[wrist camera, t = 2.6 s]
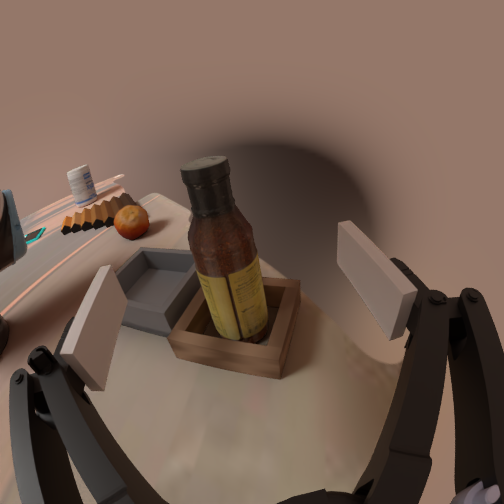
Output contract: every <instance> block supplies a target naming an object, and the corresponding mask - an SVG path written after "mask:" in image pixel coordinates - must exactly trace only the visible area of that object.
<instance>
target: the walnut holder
mask: <svg viewBox="0 0 504 504" xmlns="http://www.w3.org/2000/svg"><path fill="white" fill-rule="evenodd" d="M262 282H263V287H264V293H265V299H266V304H267V306H271V307H279V310H278V313H277V316H276V320H275V323H274V326H273V329H272V332H271V335H270V338H269V341H268V344H267V346H265V345H258V344H252V343H245V342H239V341H233V340H228V339H222V338H217V337H211V336H206V335H202V334H203V333H204V331H205V329H206V327H207V325H208V324H209V322H210V320H211V318H212V316H211V313H210V310H209V307H208V304H207V301H206V298H205V295H204V292H203V289H202V286H201V287H200V289H199V290H198V292H197V293H196V295H195V296H194V298H193V299H192V301H191V302H190V304H189V305H188V307H187V308H186V310H185V311H184V313H183V314H182V316H181V317H180V319H179V320H178V322H177V323H176V325H175V327H174V328H173V330H172V331H171V333H170V334H169V336H168V337H167V339H168V341H169V343H170V345H171V347H172V349H173V351H174V353H175V355H176V357H177V358H180V359H183V360H187V361H191V362H195V363H199V364H203V365H207V366H211V367H216V368H220V369H225V370H230V371H234V372H239V373H245V374H250V375H255V376H261V377H267V378H273V379H281V375H282V371H283V368H284V364H285V361H286V357H287V353H288V349H289V346H290V342H291V338H292V334H293V330H294V326H295V322H296V318H297V314H298V310H299V305H300V280H292V279H279V278H267V277H262Z"/></svg>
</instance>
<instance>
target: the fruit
mask: <svg viewBox="0 0 504 504" xmlns="http://www.w3.org/2000/svg"><path fill="white" fill-rule="evenodd" d="M114 225H115V228H116V230H117V231H118V233H119V234H120V235H121V236H122V237H124V238H126V239H129V240H134V239H136V238H137V237H139V236H141V235H142V234H143V233H144V232H146V231H147V229H148V227H149V220H148V215H147V212H146V210H144V209H142V208H141V207H140V206H133V205H127V206H125V207H123V208H122V209H121V210H119V211H118V213H117V214H116V216H115V219H114Z"/></svg>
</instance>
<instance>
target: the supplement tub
mask: <svg viewBox="0 0 504 504" xmlns="http://www.w3.org/2000/svg"><path fill="white" fill-rule="evenodd" d="M67 176H68V180H69V184H70V187H71V190H72V193H73V196H74V200H75V203H76V205H77V207H84V206H86V205H89V204H91V203H93V202H94V201H96V200H97V194H96V190H95V187H94V184H93V180H92V177H91V173H90V169H89V167H88V165H83V166H80V167H78V168H76V169H73V170H71V171H69V172H68V173H67Z"/></svg>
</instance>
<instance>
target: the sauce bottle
mask: <svg viewBox="0 0 504 504" xmlns="http://www.w3.org/2000/svg"><path fill="white" fill-rule="evenodd" d="M181 175H182V180H183V183H184V184H185V185H186V186H187V190H188V194H189V198H190V202H191V205H192V207H191V210H192V213H193V219H192V222H191V225H190V228H189V231H188V241H189V245H190V250H191V253H192V256H193V259H194V262H195V268H196V271H197V274H198V277H199V280H200V283H201V286H202V289H203V292H204V295H205V298H206V301H207V304H208V307H209V310H210V313H211V316H212V318H213V321H214V324H215V327H216V330H217V331H218V332H219V333H220V335H221V337H222V338H223V339H228V340H233V341H239V342H245V343H252V344H254V343H256V342H257V341H259V340H261V339H262V338H263V337H264V336H265V334H266V332H267V329H268V310H267V304H266V299H265V293H264V287H263V282H262V276H261V270H260V264H259V258H258V253H257V249H256V246H255V243H254V238H253V232H252V226H251V225H250V224H249V223H248V221H247V220H246V219H245V217H244V216H243V215H242V213H241V212H240V211H239V209H238V208H237V206H236V205H235V199H234V198H233V196H232V190H231V185H230V179H229V175H230V167H229V163H228V159H227V158H226V157H224V156H214V157H213V156H212V157H206V158H201V159H198V160H195V161H192V162H189V163H187V164H185V165H183V166H182V167H181Z"/></svg>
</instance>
